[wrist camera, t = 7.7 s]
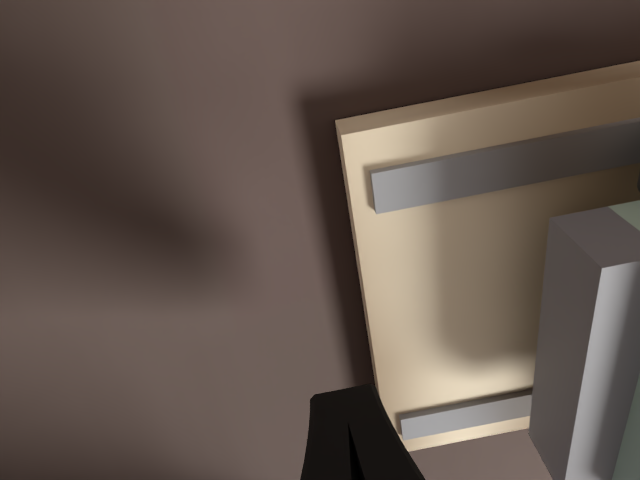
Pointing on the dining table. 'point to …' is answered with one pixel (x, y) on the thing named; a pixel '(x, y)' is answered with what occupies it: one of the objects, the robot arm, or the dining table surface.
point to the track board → (476, 237)
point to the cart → (590, 347)
